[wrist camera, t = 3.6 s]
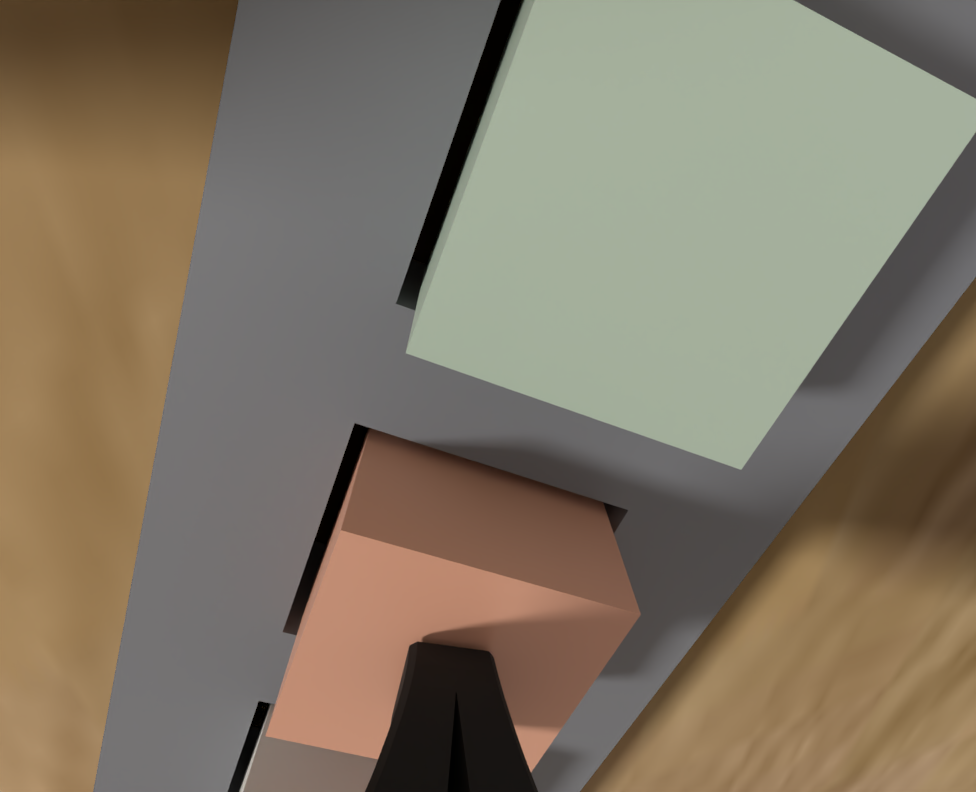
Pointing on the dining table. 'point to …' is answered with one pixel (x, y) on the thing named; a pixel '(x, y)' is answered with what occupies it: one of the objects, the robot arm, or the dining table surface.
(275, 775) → the offwhite key
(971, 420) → the dining table surface
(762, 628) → the dining table surface
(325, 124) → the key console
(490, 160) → the sage key
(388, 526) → the terracotta key
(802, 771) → the dining table surface
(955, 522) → the dining table surface
